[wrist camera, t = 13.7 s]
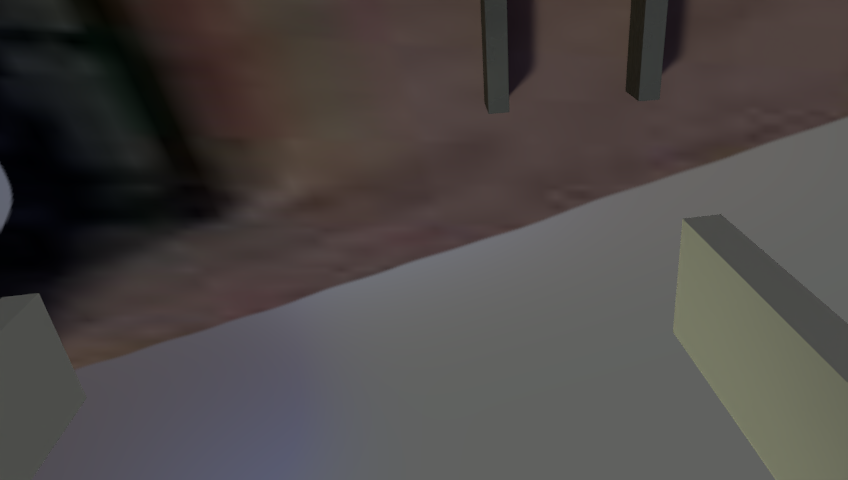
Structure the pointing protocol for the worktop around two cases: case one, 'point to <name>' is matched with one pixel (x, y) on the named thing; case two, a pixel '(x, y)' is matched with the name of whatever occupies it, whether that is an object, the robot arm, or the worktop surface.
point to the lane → (642, 51)
